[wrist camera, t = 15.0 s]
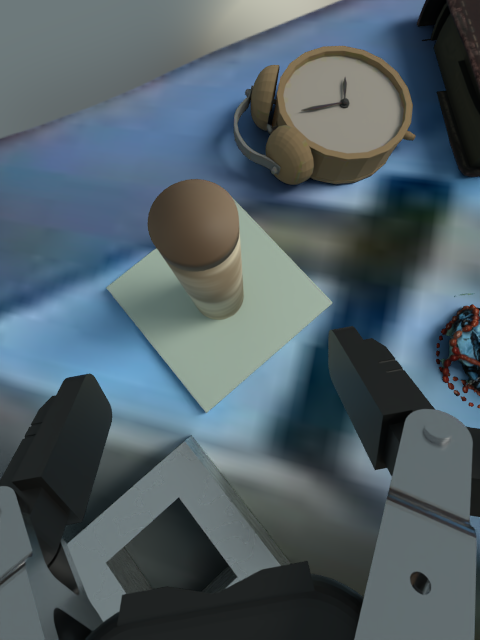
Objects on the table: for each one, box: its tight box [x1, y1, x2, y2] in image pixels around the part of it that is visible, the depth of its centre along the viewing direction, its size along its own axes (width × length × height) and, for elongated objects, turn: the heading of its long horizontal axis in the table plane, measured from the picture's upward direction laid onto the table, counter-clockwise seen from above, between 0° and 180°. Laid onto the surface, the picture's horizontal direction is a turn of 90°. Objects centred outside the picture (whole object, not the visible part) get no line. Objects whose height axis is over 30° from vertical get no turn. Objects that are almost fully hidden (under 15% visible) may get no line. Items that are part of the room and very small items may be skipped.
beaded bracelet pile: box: [436, 294, 480, 408], centre depth 25 cm, size 8×7×8 cm
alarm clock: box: [234, 46, 415, 185], centre depth 27 cm, size 11×5×15 cm
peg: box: [148, 179, 244, 320], centre depth 20 cm, size 4×4×12 cm
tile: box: [106, 199, 332, 413], centre depth 26 cm, size 13×13×1 cm
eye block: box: [67, 435, 290, 622], centre depth 21 cm, size 11×11×2 cm
